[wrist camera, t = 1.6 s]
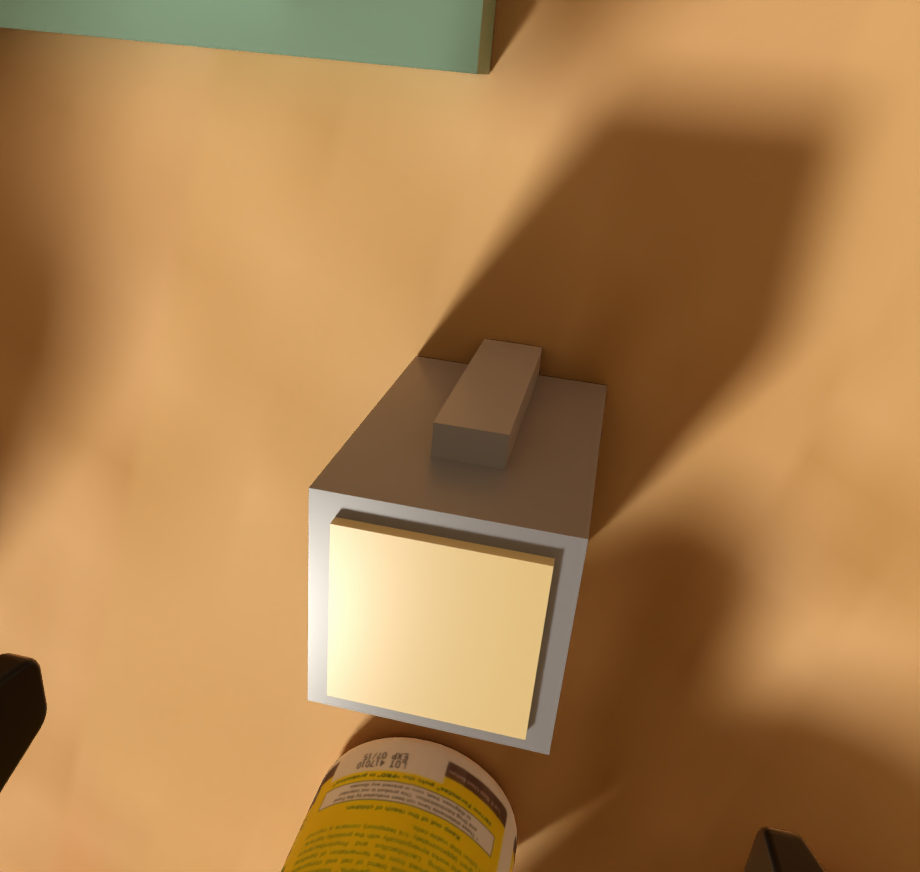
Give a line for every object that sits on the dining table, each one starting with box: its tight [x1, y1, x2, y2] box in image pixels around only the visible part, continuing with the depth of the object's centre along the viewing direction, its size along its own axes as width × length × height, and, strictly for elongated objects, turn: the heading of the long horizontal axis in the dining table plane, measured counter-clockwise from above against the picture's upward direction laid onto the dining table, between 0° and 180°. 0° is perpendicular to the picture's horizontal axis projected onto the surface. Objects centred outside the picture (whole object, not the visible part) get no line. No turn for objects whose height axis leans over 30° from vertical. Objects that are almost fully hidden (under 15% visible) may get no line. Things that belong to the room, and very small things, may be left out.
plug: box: [308, 339, 607, 755], centre depth 14 cm, size 4×5×6 cm
